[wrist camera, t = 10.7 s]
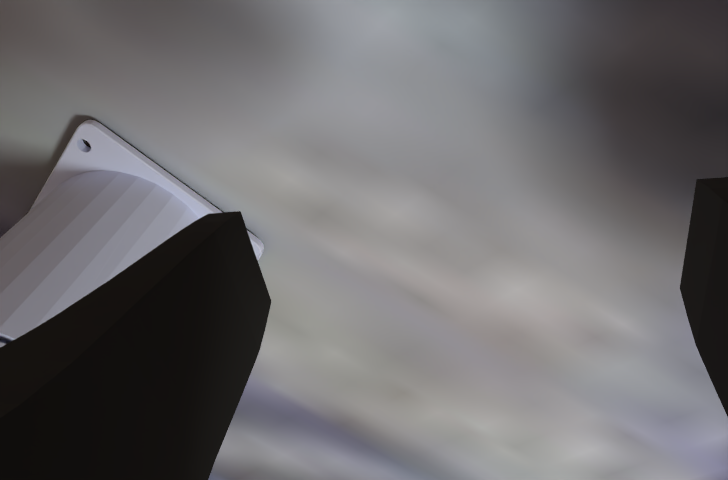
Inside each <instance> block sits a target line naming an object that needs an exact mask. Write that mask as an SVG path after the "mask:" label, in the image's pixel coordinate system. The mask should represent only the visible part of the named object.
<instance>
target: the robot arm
mask: <svg viewBox="0 0 728 480" xmlns="http://www.w3.org/2000/svg"><path fill="white" fill-rule="evenodd" d="M82 139H84V140H86V141H87V142H88V143H89V144H90V146H91V148H90V147H88V146H86V145H85V144H84V142H83V140H82ZM263 251H264V245H263V243H262V241H261V240H260V239H259V238H257V237H256V236H254V235H253V234H252V233H250V232H249V231H248V230H247V229H246V226H245V223H244V220H243V217H242V215H241V212H240V211H239V212H225V213H223V212H221V211H220V210H219V209H217V208H216V207H215V206H213V205H212V204H210V203H209V202H208V201H206V200H205V199H204V198H202V197H201V196H199V195H198V194H197V193H195V192H194V191H193V190H191V189H190V188H188V187H187V186H186V185H184V184H183V183H181V182H180V181H179V180H177V179H176V178H175V177H173V176H172V175H170V174H169V173H168V172H166V171H165V170H164V169H162V168H161V167H159V166H158V165H157V164H155V163H154V162H153V161H151V160H150V159H148V158H147V157H146V156H144V155H143V154H142V153H140V152H139V151H137V150H136V149H135V148H133V147H132V146H131V145H129V144H128V143H126V142H125V141H124V140H122V139H121V138H120V137H118V136H117V135H115V134H114V133H113V132H111V131H110V130H109V129H107V128H106V127H104V126H103V125H102V124H100V123H99V122H97V121H95V120H86V121H84V122H83V123H82V124H80V125H79V126H78V127H77V129H76V131H75V133H74V134H73V136H72V138H71V140H70V141H69V143H68V145H67V146H66V148H65V150H64V152H63V153H62V155H61V157H60V159H59V160H58V162H57V164H56V166H55V167H54V169H53V171H52V172H51V174H50V176H49V178H48V179H47V181H46V183H45V185H44V186H43V188H42V190H41V192H40V193H39V195H38V197H37V199H36V200H35V202H34V204H33V205H32V207H31V209H30V211H29V212H28V214H26V215H25V216H24V217H23V218H22V219H21V220H20V221H19V222H17V223H16V224H15V225H14V226H13V227H12V228H11V229H10V230H8V231H7V232H6V233H5V234H4V235H3V236H2V237H1V238H0V480H208V478H209V475H210V473H211V470H212V467H213V464H214V462H215V459H216V457H217V454H218V452H219V449H220V447H221V445H222V442H223V440H224V437H225V435H226V432H227V430H228V427H229V425H230V423H231V420H232V418H233V415H234V413H235V410H236V408H237V405H238V403H239V401H240V398H241V396H242V393H243V391H244V388H245V386H246V383H247V381H248V378H249V376H250V373H251V371H252V368H253V366H254V363H255V361H256V358H257V355H258V353H259V350H260V346H261V342H262V339H263V335H264V331H265V327H266V323H267V318H268V314H269V309H270V305H271V299H270V296H269V293H268V290H267V287H266V285H265V282H264V279H263V276H262V273H261V270H260V267H259V264H258V261H257V260H258V259H259V258H260V257H261V255H262V253H263ZM680 290H681V294H682V298H683V301H684V305H685V309H686V313H687V316H688V320H689V323H690V327H691V330H692V333H693V337H694V340H695V343H696V346H697V349H698V351H699V353H700V356H701V358H702V360H703V362H704V365H705V367H706V369H707V372H708V374H709V376H710V378H711V381H712V383H713V385H714V387H715V390H716V392H717V394H718V396H719V398H720V401H721V403H722V405H723V407H724V409H725V412H726V414H727V416H728V177H724V178H710V179H697V181H696V188H695V194H694V201H693V207H692V213H691V220H690V226H689V233H688V239H687V246H686V252H685V259H684V265H683V271H682V278H681V284H680Z"/></svg>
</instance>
